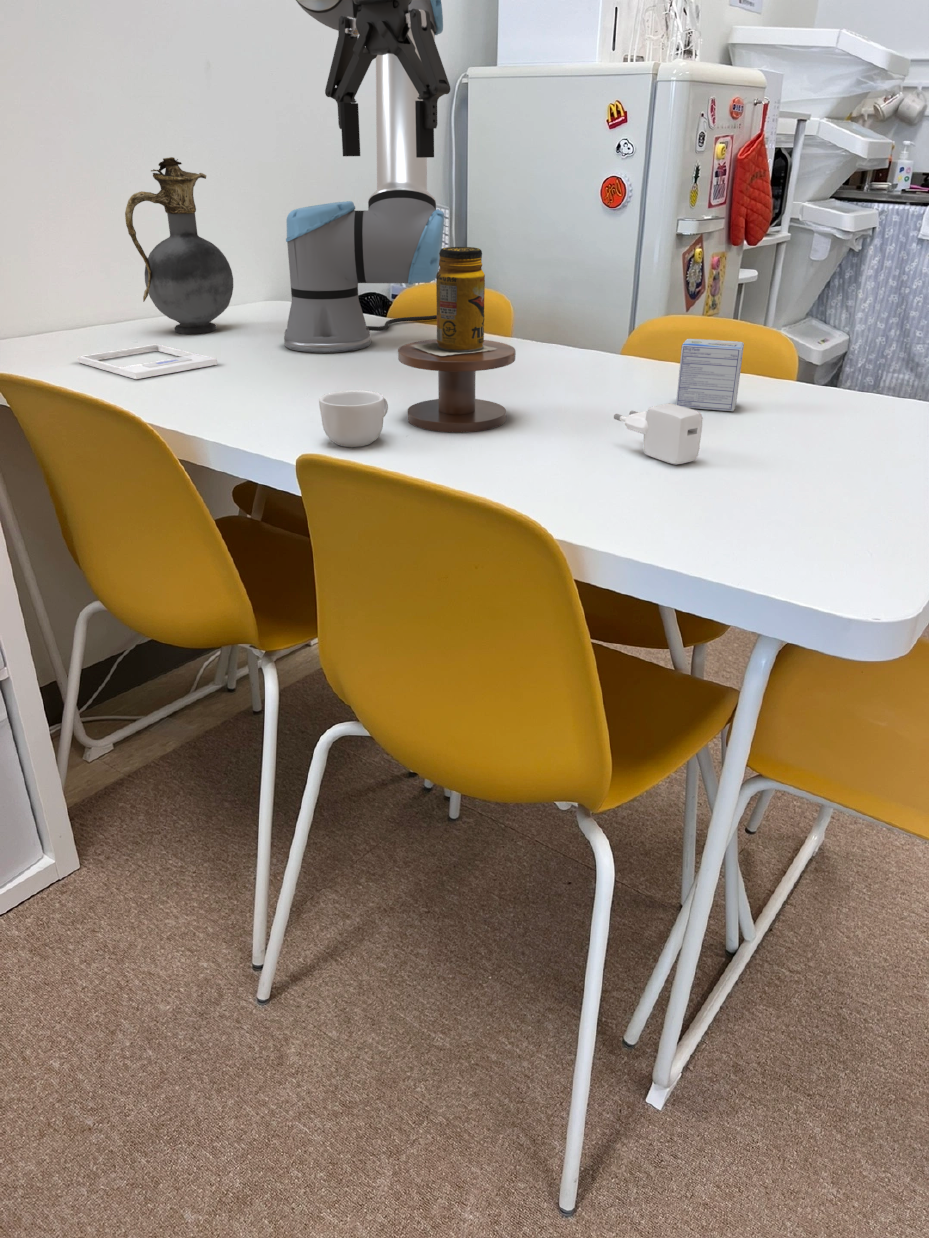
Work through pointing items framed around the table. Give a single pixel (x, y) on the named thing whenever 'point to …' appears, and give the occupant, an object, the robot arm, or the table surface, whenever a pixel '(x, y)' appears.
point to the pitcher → (182, 256)
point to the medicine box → (709, 374)
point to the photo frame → (151, 368)
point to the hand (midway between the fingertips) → (387, 157)
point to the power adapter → (667, 432)
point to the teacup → (353, 416)
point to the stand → (457, 388)
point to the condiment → (459, 303)
